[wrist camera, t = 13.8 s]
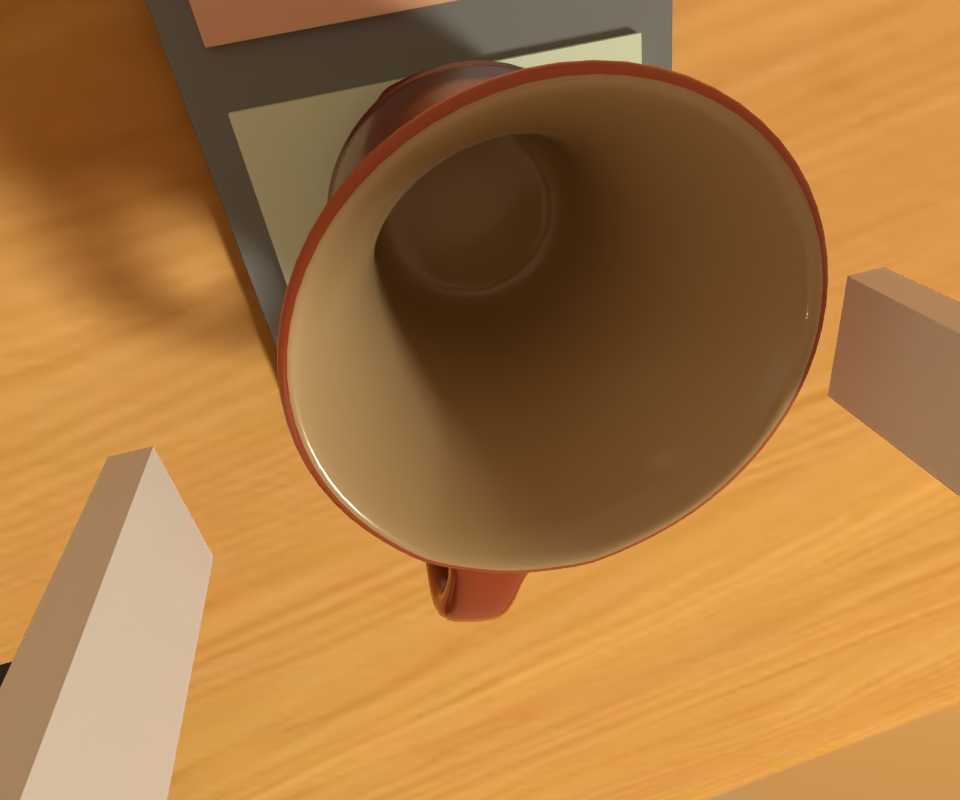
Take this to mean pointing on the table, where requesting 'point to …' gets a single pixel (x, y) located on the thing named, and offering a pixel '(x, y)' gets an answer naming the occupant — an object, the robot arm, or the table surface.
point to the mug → (546, 315)
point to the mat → (349, 88)
